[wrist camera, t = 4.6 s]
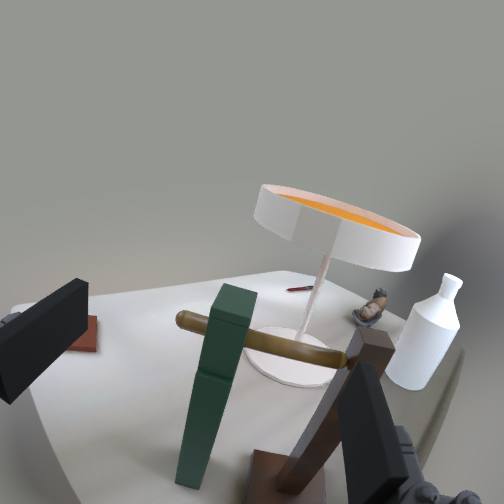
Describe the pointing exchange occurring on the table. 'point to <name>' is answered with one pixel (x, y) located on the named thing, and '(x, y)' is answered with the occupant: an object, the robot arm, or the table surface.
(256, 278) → the table surface
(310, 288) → the pen
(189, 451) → the green block with loop
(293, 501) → the hook stand
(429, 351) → the bottle
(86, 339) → the cork pad
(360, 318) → the bison figurine
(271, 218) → the white stemmed bowl
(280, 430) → the table surface
